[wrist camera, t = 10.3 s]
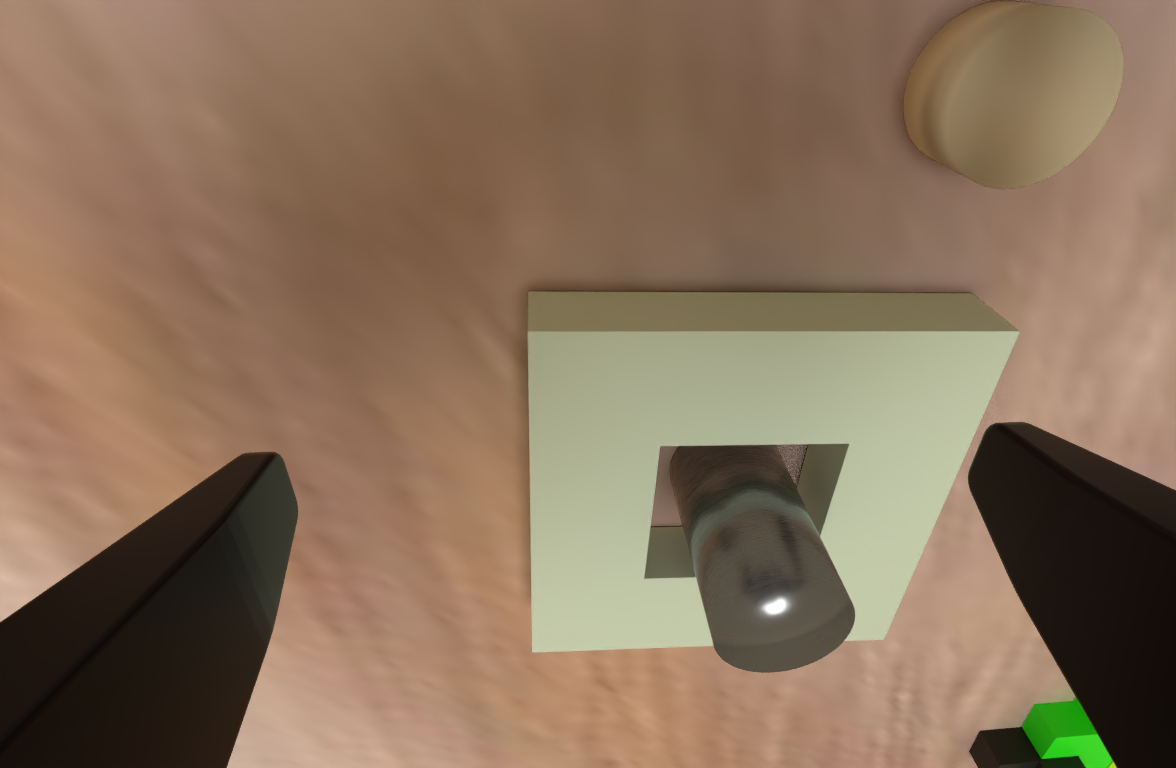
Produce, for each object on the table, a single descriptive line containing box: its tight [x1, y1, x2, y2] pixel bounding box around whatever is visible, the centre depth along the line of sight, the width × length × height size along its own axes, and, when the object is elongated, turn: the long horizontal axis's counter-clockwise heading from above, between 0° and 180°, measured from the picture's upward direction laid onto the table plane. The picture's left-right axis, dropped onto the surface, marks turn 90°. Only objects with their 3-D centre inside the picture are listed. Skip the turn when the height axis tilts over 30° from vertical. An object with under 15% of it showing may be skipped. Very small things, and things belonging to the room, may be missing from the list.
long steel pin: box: [670, 445, 855, 672], centre depth 22 cm, size 4×4×7 cm
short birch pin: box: [903, 0, 1124, 189], centre depth 17 cm, size 4×4×2 cm
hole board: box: [528, 291, 1020, 652], centre depth 23 cm, size 14×14×2 cm
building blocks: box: [969, 698, 1117, 768], centre depth 35 cm, size 15×13×4 cm
